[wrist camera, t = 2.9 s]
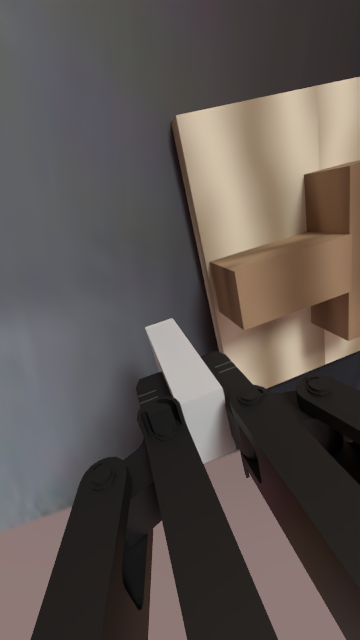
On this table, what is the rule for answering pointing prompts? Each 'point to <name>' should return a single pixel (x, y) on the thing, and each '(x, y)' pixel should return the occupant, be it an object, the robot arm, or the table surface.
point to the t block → (303, 263)
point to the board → (265, 206)
